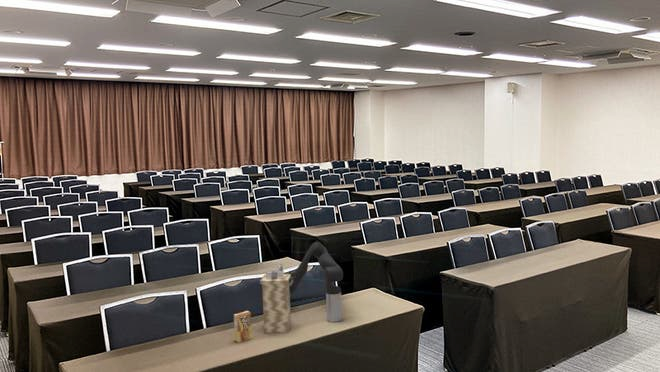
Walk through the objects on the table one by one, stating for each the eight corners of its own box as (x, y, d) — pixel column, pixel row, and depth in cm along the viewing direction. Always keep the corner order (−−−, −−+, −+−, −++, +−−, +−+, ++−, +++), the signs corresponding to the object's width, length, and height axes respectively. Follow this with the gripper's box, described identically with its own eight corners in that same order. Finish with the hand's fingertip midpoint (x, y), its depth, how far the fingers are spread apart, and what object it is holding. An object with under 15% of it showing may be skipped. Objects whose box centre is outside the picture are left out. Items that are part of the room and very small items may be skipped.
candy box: (248, 336, 290) (247, 310, 288) (252, 338, 286) (250, 312, 285) (234, 340, 284) (233, 314, 283) (238, 342, 281) (237, 316, 280)
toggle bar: (272, 270, 314) (271, 264, 314) (287, 270, 314) (287, 264, 313) (266, 279, 294) (265, 272, 294) (283, 279, 294) (282, 272, 293)
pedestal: (293, 324, 307) (290, 274, 304) (289, 332, 293) (287, 280, 291) (267, 324, 308) (264, 274, 306) (262, 333, 294) (259, 280, 292)
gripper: (276, 274, 338) (271, 267, 323) (297, 274, 337) (293, 267, 322) (275, 285, 335) (271, 279, 320) (296, 285, 334) (293, 278, 319)
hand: (282, 273), depth 321 cm, fingers open, 8 cm apart
